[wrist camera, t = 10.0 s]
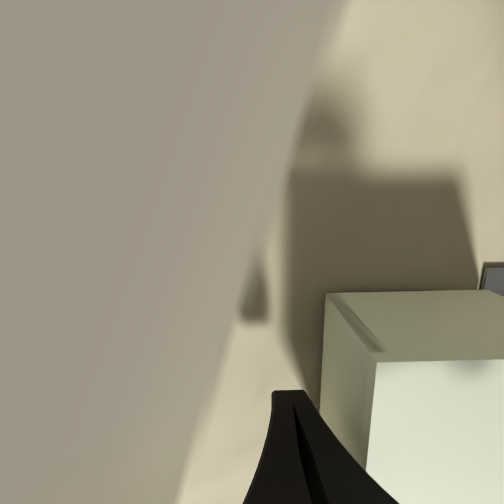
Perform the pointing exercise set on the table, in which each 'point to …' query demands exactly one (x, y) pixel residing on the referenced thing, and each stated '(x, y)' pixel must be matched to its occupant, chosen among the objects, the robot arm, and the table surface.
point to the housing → (419, 391)
